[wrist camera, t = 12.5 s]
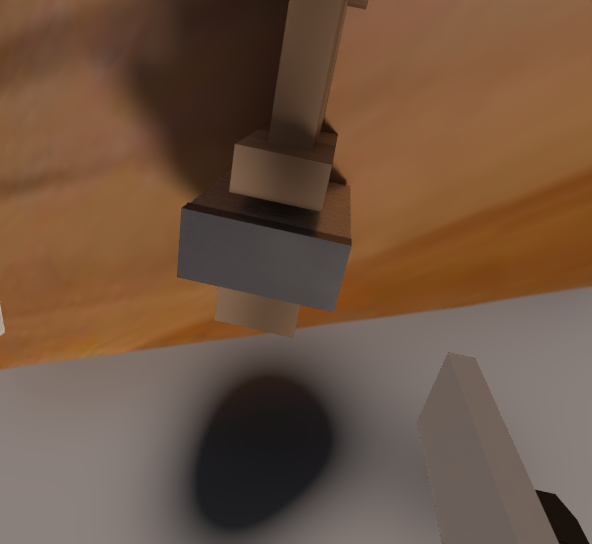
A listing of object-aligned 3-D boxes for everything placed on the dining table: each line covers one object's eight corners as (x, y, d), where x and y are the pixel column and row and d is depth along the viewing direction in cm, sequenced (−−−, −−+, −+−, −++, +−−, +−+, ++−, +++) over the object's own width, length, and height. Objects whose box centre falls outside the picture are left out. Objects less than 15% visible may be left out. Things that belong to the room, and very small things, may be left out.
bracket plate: (233, 208, 27) (177, 277, 18) (240, 160, 26) (181, 208, 17) (338, 232, 27) (333, 312, 18) (350, 184, 25) (351, 245, 16)
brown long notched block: (252, 249, 28) (214, 320, 20) (326, -241, 18) (309, -497, 10) (309, 262, 28) (293, 337, 20) (417, -223, 18) (474, -466, 10)
